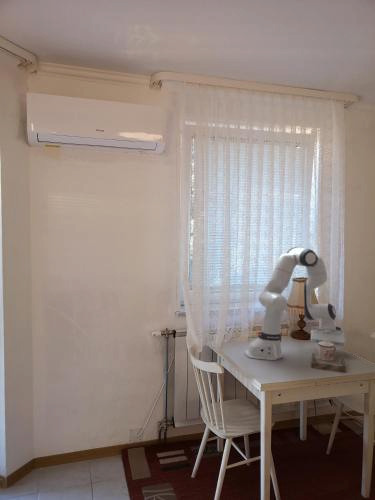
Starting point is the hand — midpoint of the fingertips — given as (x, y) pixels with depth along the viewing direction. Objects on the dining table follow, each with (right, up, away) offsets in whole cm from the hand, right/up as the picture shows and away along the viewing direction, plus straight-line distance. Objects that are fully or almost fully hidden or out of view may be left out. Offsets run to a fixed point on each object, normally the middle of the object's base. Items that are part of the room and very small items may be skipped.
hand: (327, 349), depth 220 cm
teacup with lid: (-1, -5, -2) cm, 6 cm away
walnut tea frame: (-5, -5, -13) cm, 15 cm away
